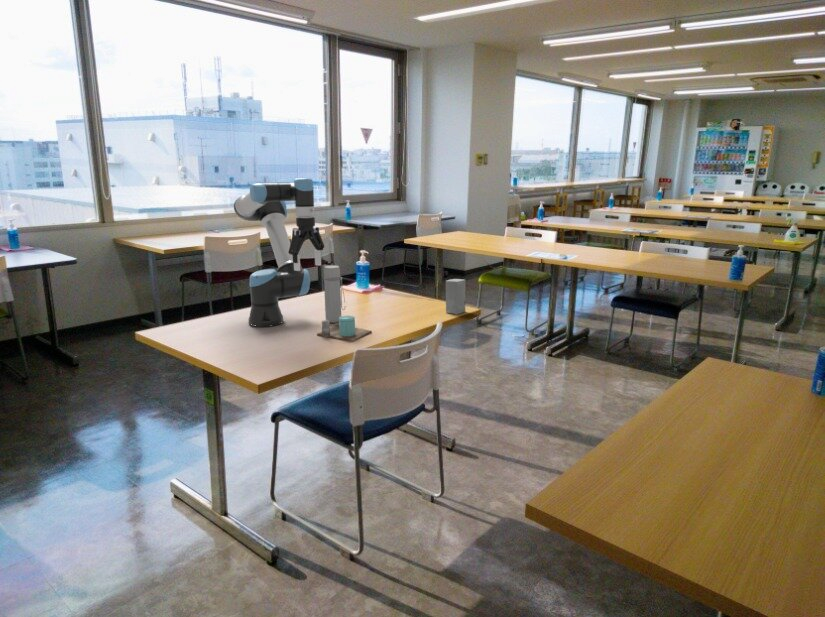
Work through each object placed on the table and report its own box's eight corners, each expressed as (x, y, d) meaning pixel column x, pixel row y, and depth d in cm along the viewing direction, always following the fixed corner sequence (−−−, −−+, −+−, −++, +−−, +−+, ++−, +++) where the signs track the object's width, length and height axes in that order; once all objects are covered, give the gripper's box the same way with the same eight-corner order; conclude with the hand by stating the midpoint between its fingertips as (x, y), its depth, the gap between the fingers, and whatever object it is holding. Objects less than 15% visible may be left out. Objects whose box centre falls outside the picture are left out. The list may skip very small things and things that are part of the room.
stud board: (316, 335, 231) (315, 320, 229) (337, 326, 243) (336, 312, 242) (351, 342, 222) (351, 326, 221) (371, 332, 235) (371, 318, 233)
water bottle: (326, 324, 247) (324, 268, 241) (324, 319, 255) (322, 265, 248) (347, 322, 250) (345, 267, 243) (344, 317, 257) (342, 264, 250)
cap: (346, 337, 226) (346, 320, 224) (336, 334, 230) (335, 317, 228) (358, 333, 231) (357, 317, 229) (347, 330, 235) (347, 314, 233)
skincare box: (456, 315, 261) (457, 282, 257) (444, 312, 265) (444, 280, 261) (466, 311, 268) (467, 279, 264) (453, 309, 272) (454, 277, 268)
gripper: (292, 220, 216) (295, 273, 221) (331, 214, 237) (333, 263, 242) (277, 219, 219) (280, 272, 225) (317, 213, 240) (319, 262, 246)
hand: (308, 267), depth 233 cm, fingers open, 13 cm apart
